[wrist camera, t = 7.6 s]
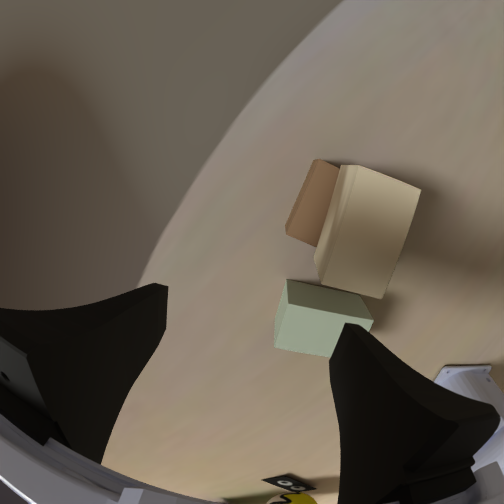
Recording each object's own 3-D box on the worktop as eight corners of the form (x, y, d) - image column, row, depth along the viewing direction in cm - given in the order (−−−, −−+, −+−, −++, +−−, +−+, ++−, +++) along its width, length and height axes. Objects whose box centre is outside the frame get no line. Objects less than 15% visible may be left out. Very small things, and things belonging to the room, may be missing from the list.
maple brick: (341, 164, 15) (359, 165, 12) (392, 183, 15) (421, 189, 11) (313, 257, 17) (321, 284, 13) (362, 271, 17) (381, 299, 13)
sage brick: (359, 294, 21) (374, 320, 17) (344, 331, 22) (354, 360, 18) (286, 278, 21) (288, 303, 17) (275, 317, 22) (273, 347, 18)
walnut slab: (395, 202, 18) (413, 208, 16) (367, 261, 20) (380, 276, 17) (312, 160, 18) (319, 158, 15) (284, 224, 20) (286, 234, 17)
